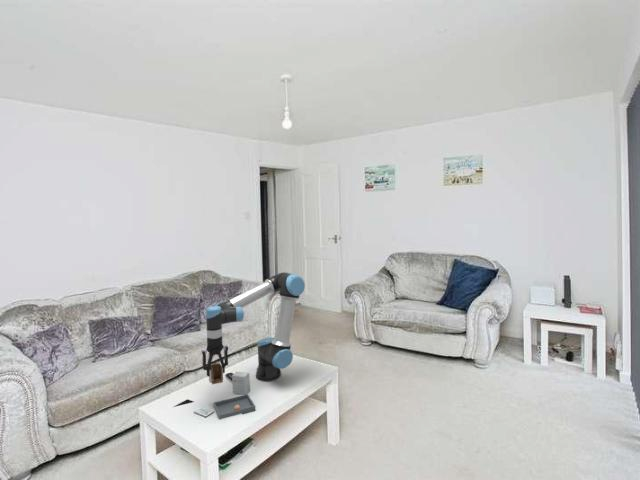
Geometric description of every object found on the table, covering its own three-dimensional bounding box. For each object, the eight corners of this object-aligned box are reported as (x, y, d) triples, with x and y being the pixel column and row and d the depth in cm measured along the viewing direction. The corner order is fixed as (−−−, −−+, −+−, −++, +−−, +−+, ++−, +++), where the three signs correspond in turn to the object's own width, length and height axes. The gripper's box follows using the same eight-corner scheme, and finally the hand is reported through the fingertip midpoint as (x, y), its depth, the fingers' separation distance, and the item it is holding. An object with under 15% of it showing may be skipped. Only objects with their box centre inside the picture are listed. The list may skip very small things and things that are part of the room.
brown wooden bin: (219, 377, 194) (219, 362, 193) (222, 382, 188) (222, 367, 188) (209, 379, 191) (209, 365, 191) (212, 384, 186) (211, 369, 185)
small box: (250, 390, 206) (249, 372, 205) (245, 395, 200) (244, 376, 200) (237, 389, 208) (236, 371, 207) (232, 393, 202) (231, 375, 202)
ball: (239, 410, 184) (240, 404, 185) (240, 412, 182) (240, 405, 182) (233, 410, 184) (234, 404, 184) (233, 412, 181) (234, 405, 182)
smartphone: (196, 403, 193) (196, 402, 193) (169, 419, 179) (169, 417, 179) (187, 400, 197) (187, 398, 197) (160, 415, 183) (159, 413, 183)
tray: (247, 398, 197) (247, 394, 196) (255, 410, 184) (255, 405, 184) (213, 407, 188) (213, 402, 188) (219, 420, 176) (219, 415, 176)
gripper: (230, 331, 196) (231, 374, 198) (194, 337, 187) (196, 381, 189) (234, 335, 190) (235, 379, 191) (197, 342, 181) (199, 387, 182)
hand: (216, 380), depth 190 cm, fingers closed on brown wooden bin, 5 cm apart
